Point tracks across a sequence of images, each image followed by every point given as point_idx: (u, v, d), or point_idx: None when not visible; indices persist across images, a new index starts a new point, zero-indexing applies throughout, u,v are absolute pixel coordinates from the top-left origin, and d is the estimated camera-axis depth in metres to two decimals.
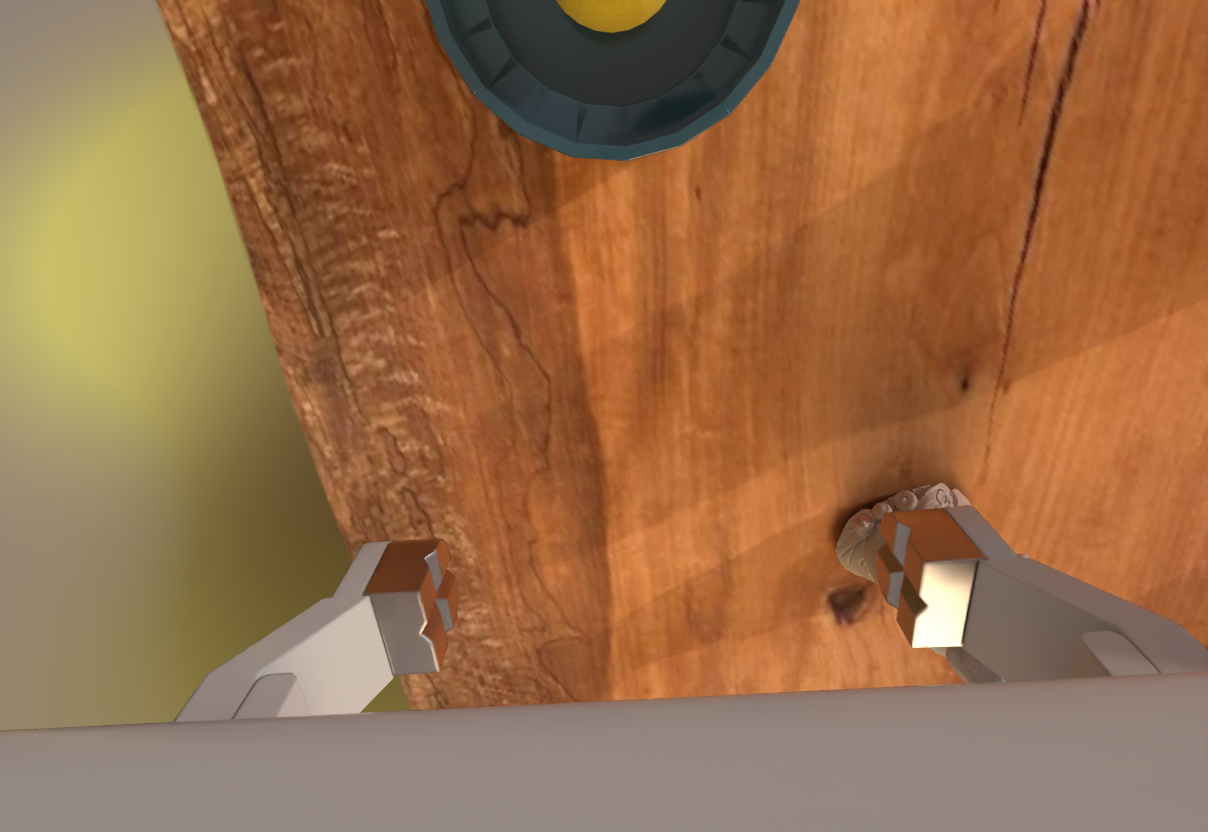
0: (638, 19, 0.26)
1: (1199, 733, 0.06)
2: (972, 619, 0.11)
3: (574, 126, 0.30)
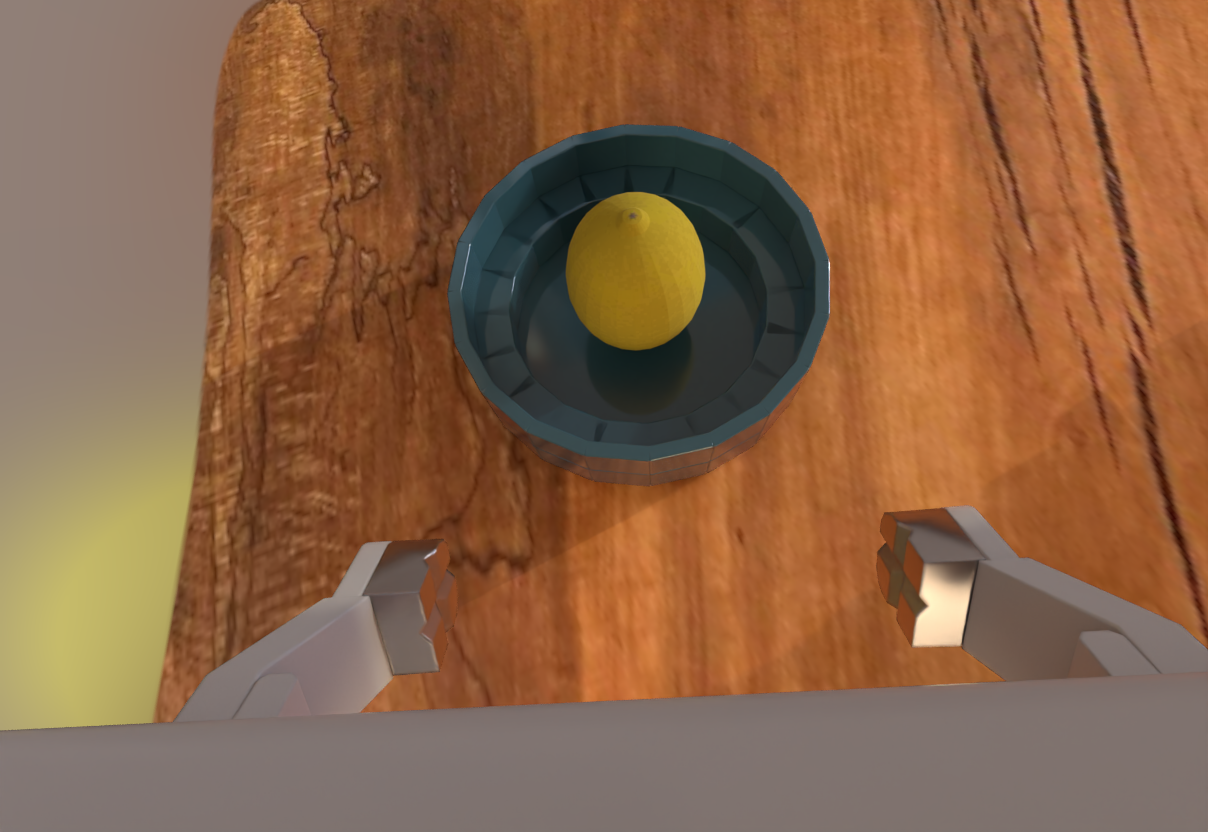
0: (661, 319, 0.25)
1: (1199, 733, 0.06)
2: (972, 619, 0.11)
3: None
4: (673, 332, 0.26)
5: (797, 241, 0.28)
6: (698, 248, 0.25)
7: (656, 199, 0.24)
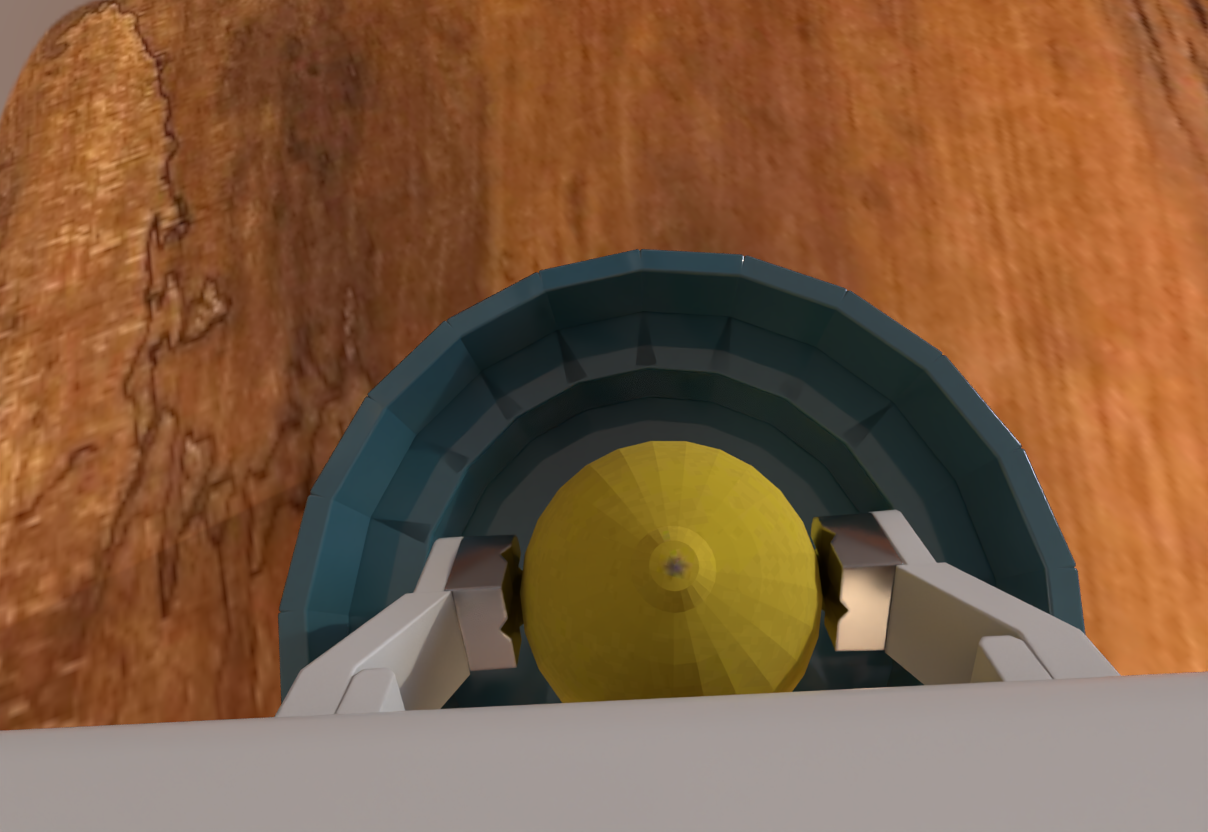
0: None
1: (1199, 733, 0.06)
2: (892, 623, 0.11)
3: None
4: None
5: (987, 497, 0.14)
6: (818, 585, 0.11)
7: (725, 486, 0.10)
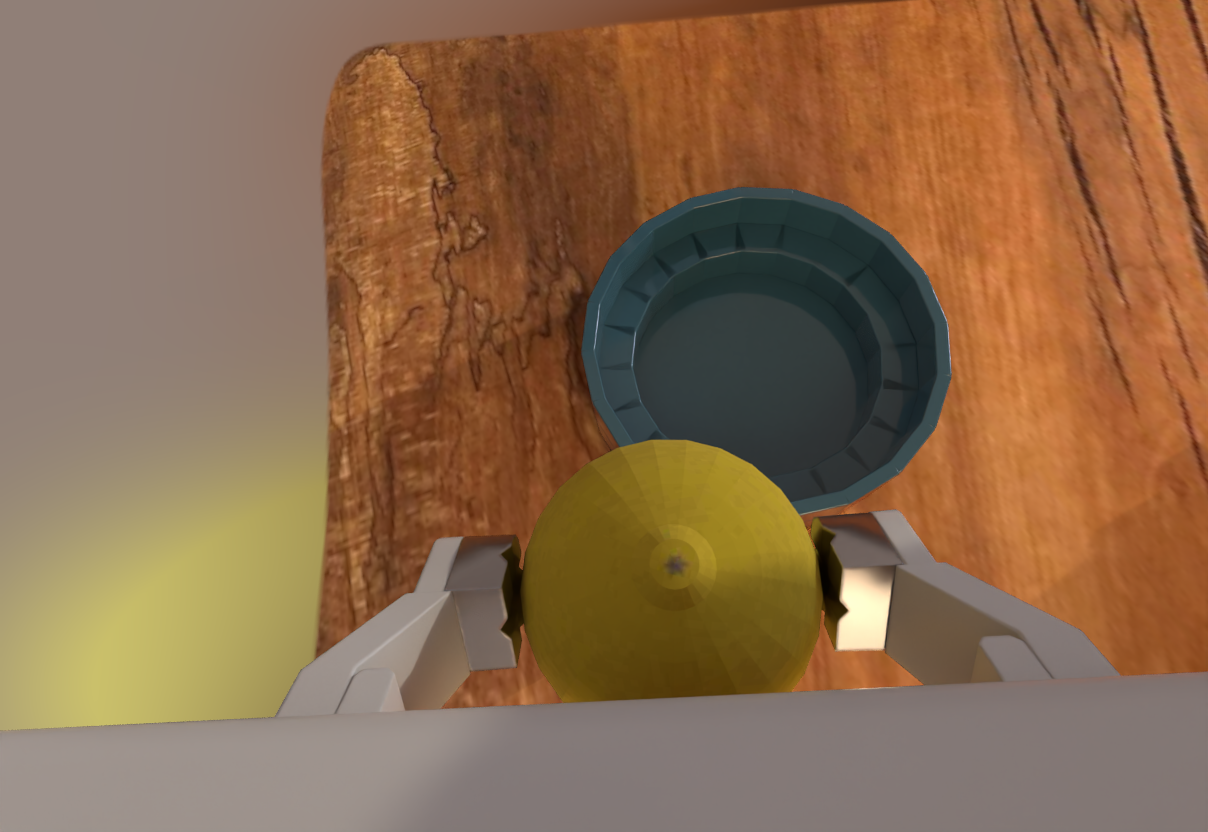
0: None
1: (1199, 733, 0.06)
2: (892, 623, 0.11)
3: None
4: None
5: (911, 301, 0.29)
6: (818, 584, 0.11)
7: (726, 485, 0.10)
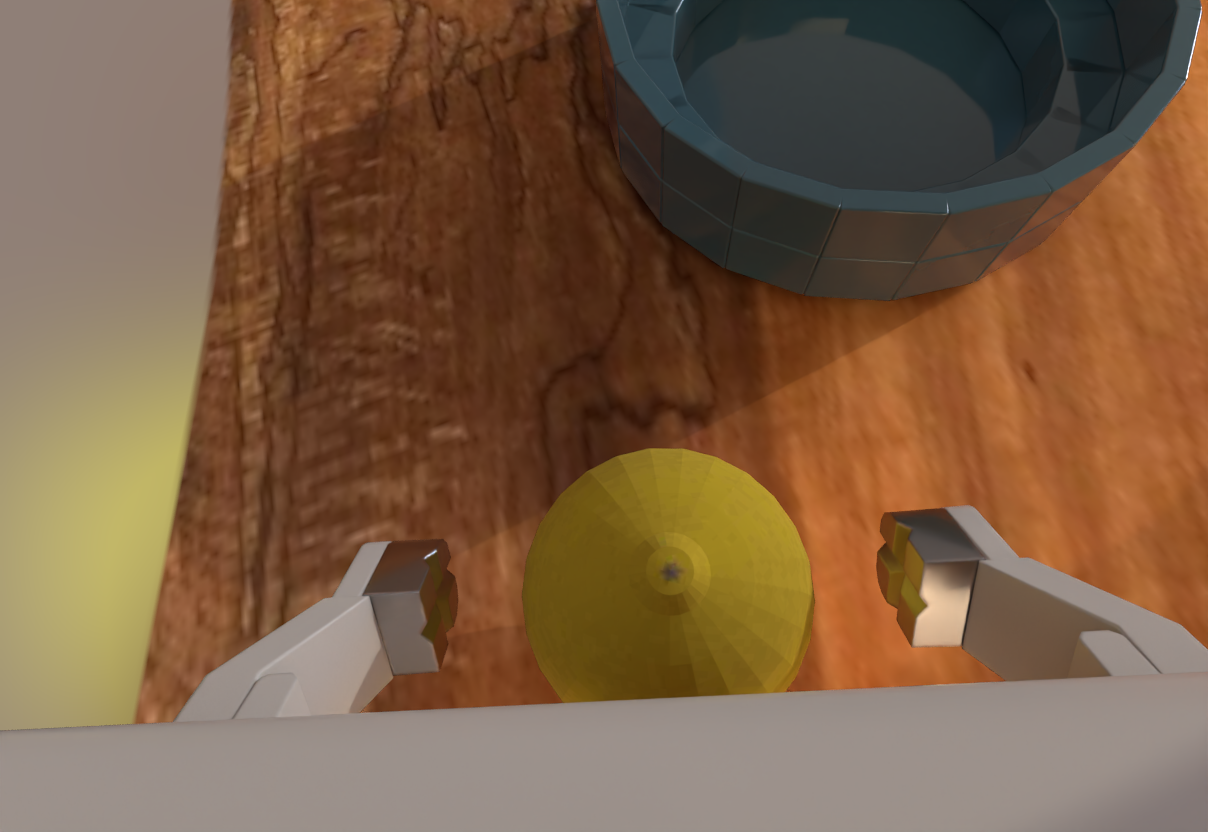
0: None
1: (1199, 733, 0.06)
2: (972, 619, 0.11)
3: None
4: None
5: None
6: (810, 589, 0.11)
7: (720, 494, 0.11)
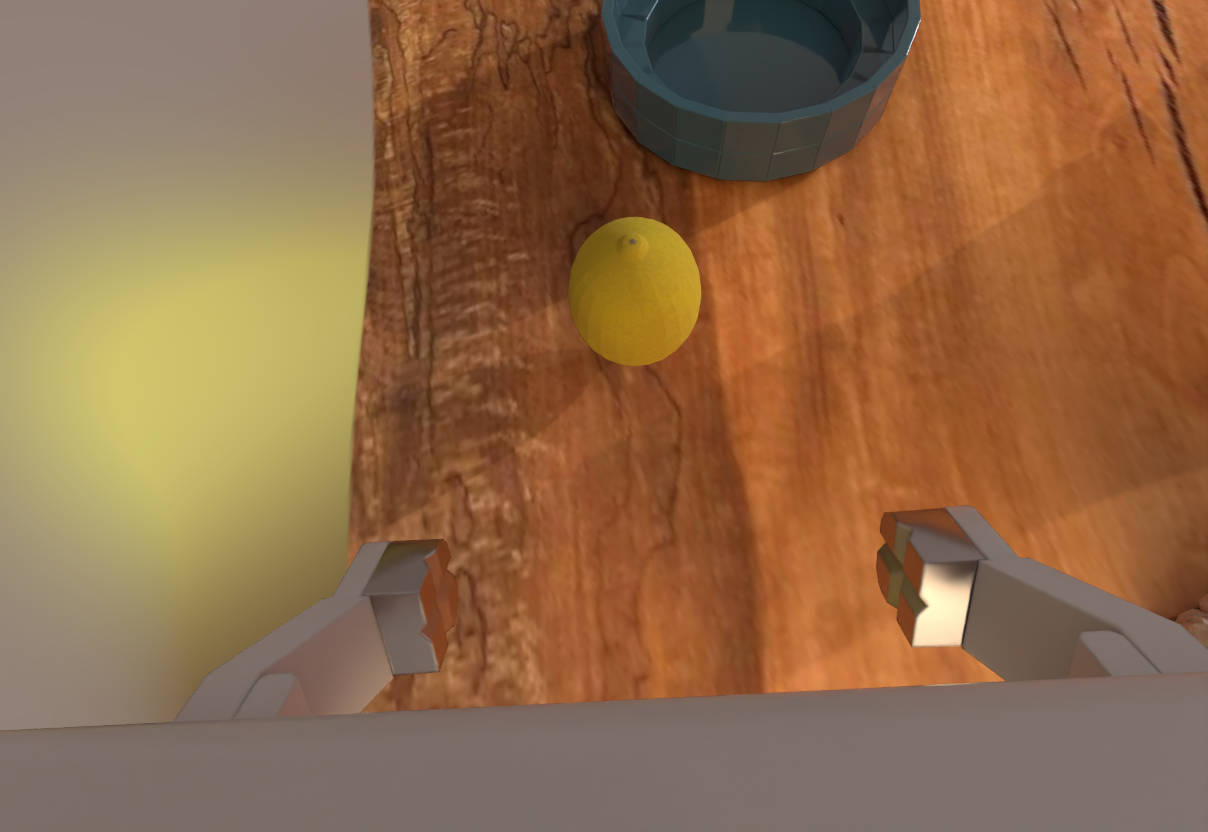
0: (659, 338, 0.26)
1: (1199, 733, 0.06)
2: (972, 619, 0.11)
3: None
4: (670, 349, 0.28)
5: None
6: (694, 271, 0.26)
7: (654, 225, 0.25)
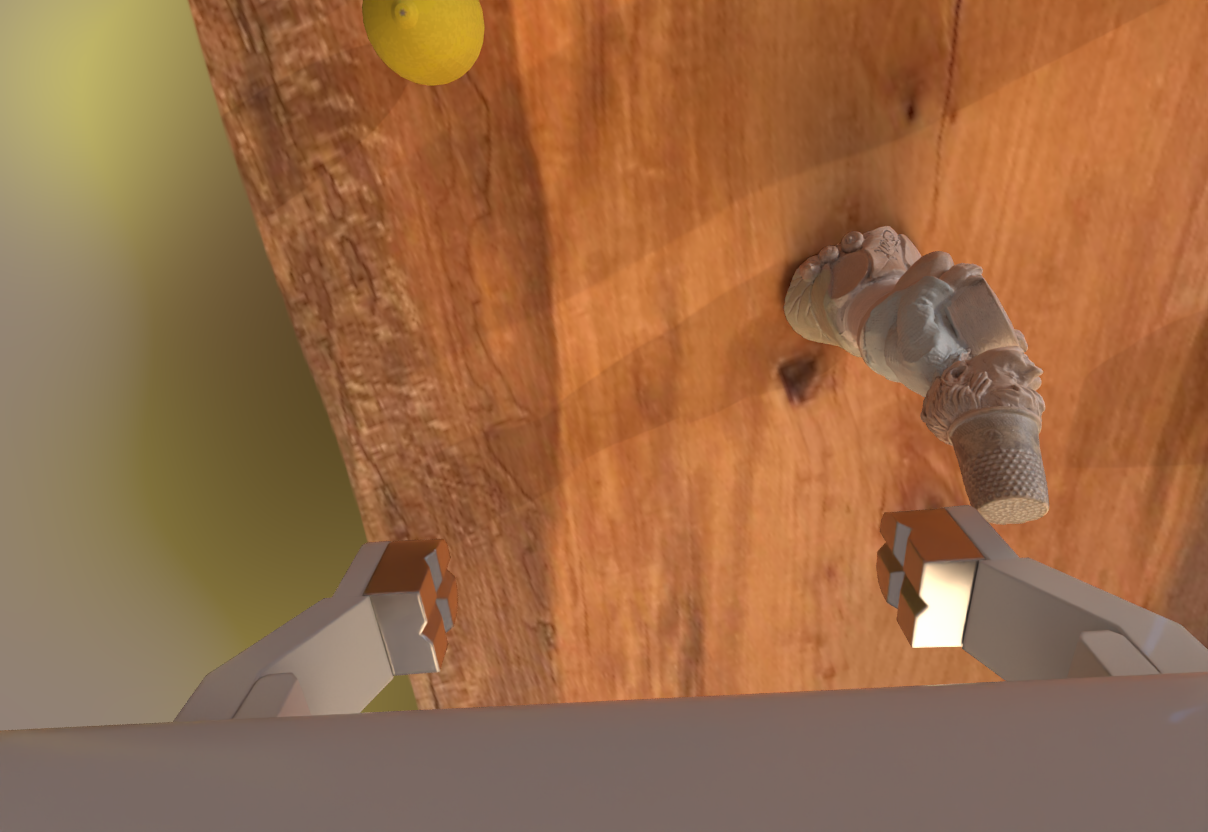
0: (447, 77, 0.32)
1: (1199, 733, 0.06)
2: (972, 619, 0.11)
3: None
4: (463, 74, 0.34)
5: None
6: (466, 17, 0.31)
7: None
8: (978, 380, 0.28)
